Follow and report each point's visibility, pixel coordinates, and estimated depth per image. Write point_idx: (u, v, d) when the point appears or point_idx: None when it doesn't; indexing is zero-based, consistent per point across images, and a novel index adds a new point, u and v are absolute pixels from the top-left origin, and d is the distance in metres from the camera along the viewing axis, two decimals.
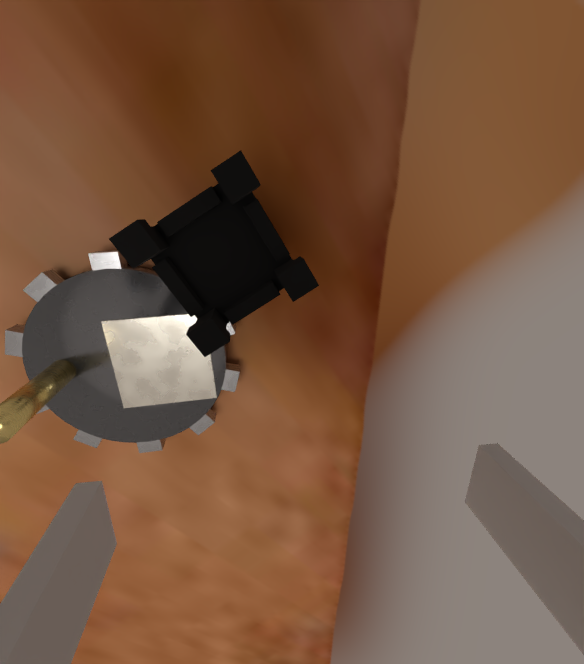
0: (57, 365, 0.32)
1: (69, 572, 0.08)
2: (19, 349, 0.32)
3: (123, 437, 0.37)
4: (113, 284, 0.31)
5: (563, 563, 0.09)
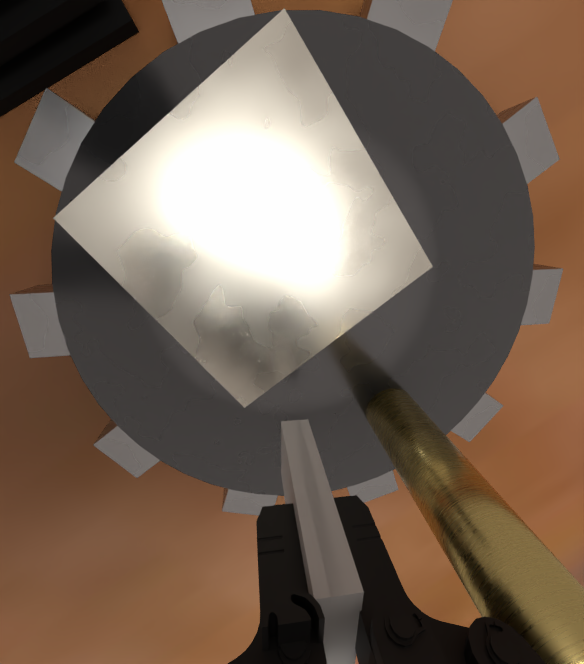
0: (376, 434, 0.15)
1: None
2: (379, 478, 0.17)
3: (518, 224, 0.14)
4: (158, 421, 0.15)
5: None
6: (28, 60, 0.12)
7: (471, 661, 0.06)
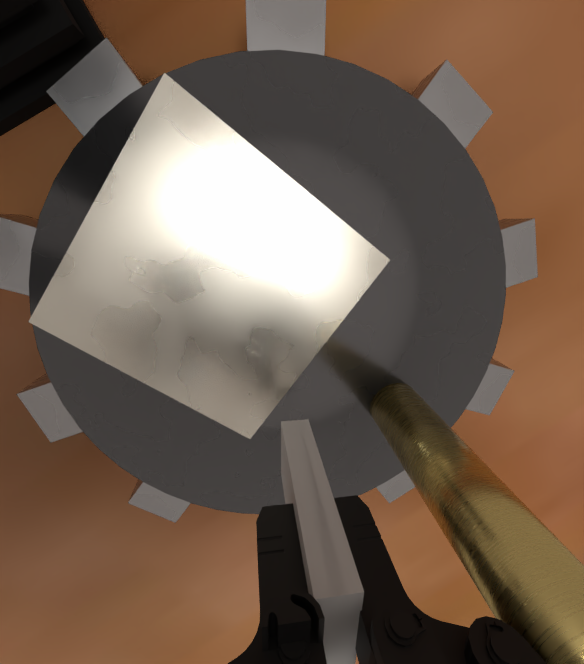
0: (383, 434, 0.15)
1: None
2: (406, 471, 0.17)
3: (469, 190, 0.13)
4: (177, 469, 0.15)
5: None
6: (12, 93, 0.12)
7: (471, 661, 0.06)
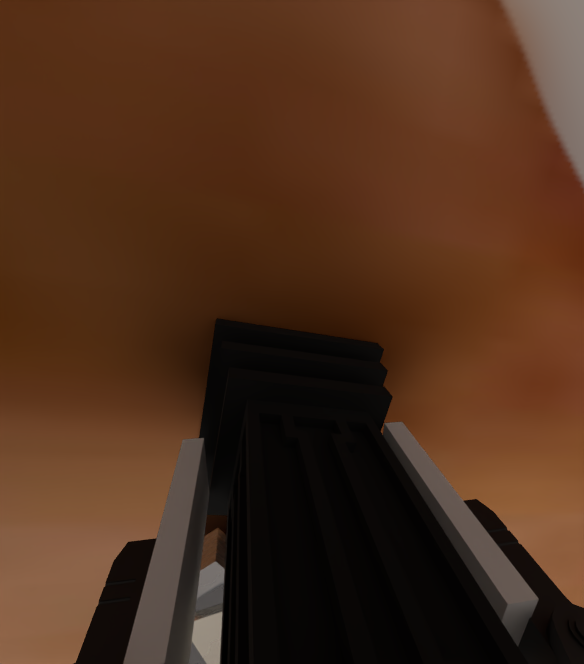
0: None
1: (197, 503, 0.10)
2: None
3: None
4: None
5: None
6: None
7: None
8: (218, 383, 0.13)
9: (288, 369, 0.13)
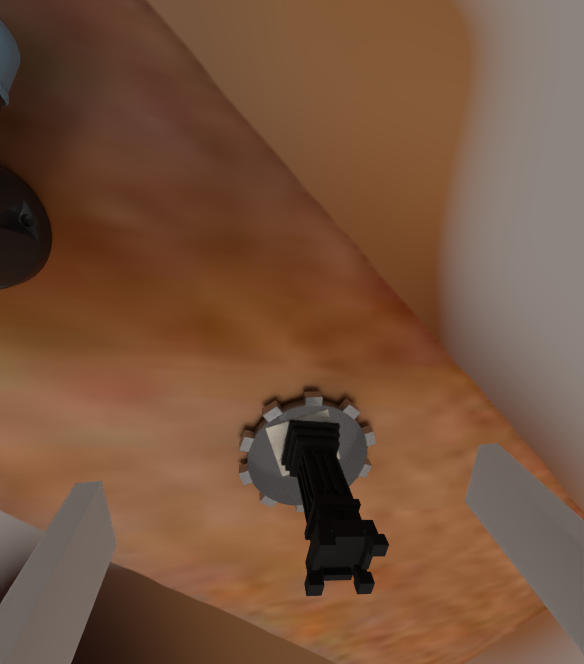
0: None
1: (69, 572, 0.08)
2: None
3: (363, 454, 0.55)
4: (258, 473, 0.53)
5: (563, 563, 0.09)
6: None
7: None
8: (292, 440, 0.48)
9: (311, 436, 0.48)
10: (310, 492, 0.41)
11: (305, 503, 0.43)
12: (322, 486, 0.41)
